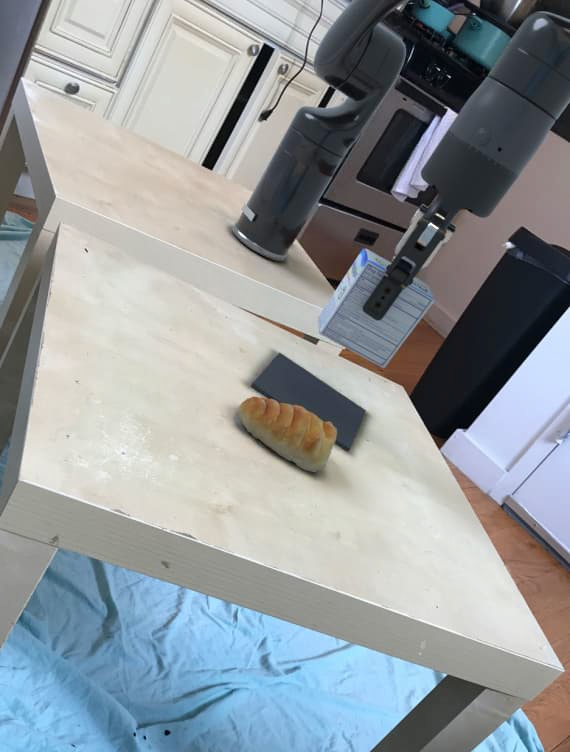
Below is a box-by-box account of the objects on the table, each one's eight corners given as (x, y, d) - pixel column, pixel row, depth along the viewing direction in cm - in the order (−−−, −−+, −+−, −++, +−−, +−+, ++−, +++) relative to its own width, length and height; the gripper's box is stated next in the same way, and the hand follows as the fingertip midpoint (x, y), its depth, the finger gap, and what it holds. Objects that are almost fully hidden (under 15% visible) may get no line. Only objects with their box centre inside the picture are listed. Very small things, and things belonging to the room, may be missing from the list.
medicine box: (378, 353, 80) (429, 284, 75) (383, 371, 76) (437, 299, 72) (315, 318, 78) (363, 245, 74) (318, 335, 74) (368, 259, 70)
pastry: (231, 433, 66) (252, 400, 64) (235, 400, 72) (255, 368, 70) (320, 480, 68) (344, 449, 66) (318, 444, 74) (340, 414, 72)
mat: (277, 355, 86) (279, 352, 86) (364, 413, 86) (366, 410, 86) (250, 385, 76) (252, 382, 76) (348, 452, 76) (350, 449, 75)
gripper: (525, 176, 60) (398, 348, 69) (518, 168, 72) (411, 314, 81) (447, 125, 60) (330, 303, 69) (453, 125, 72) (353, 276, 81)
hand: (374, 308), depth 75 cm, fingers closed on medicine box, 5 cm apart
